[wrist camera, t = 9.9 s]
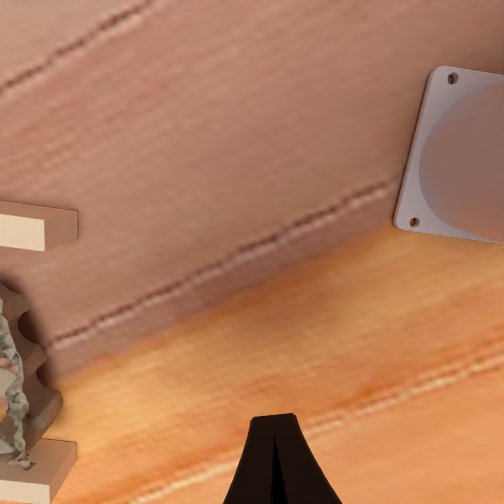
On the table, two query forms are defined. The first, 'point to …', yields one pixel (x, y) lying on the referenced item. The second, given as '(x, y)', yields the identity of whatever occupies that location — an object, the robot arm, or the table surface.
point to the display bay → (44, 451)
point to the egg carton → (22, 385)
